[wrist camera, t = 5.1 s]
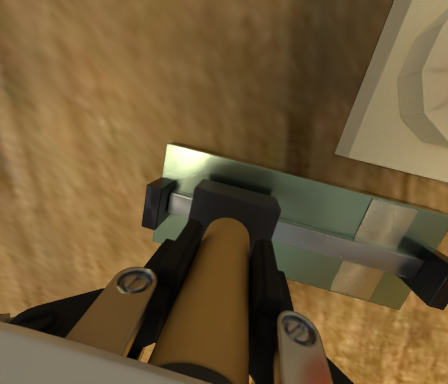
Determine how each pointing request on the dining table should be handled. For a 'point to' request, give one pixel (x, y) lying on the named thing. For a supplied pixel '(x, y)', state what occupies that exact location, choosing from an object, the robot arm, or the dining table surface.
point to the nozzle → (217, 287)
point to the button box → (404, 95)
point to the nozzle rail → (318, 228)
